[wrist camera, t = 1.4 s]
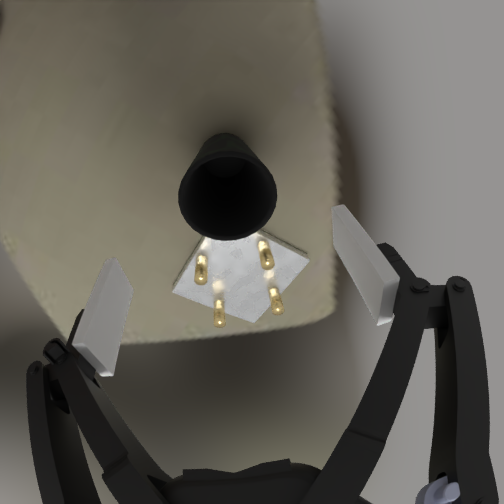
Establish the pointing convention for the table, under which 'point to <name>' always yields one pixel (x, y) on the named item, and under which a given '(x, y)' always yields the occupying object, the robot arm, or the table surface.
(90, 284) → the table surface
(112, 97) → the table surface
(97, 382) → the robot arm
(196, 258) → the white board with pegs
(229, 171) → the cup
